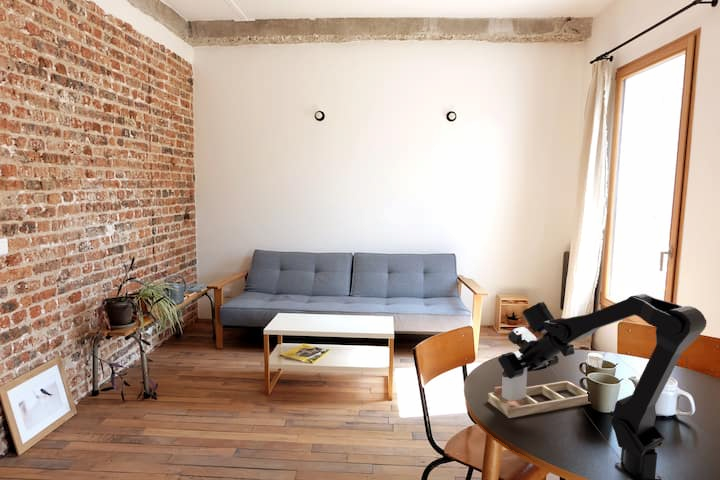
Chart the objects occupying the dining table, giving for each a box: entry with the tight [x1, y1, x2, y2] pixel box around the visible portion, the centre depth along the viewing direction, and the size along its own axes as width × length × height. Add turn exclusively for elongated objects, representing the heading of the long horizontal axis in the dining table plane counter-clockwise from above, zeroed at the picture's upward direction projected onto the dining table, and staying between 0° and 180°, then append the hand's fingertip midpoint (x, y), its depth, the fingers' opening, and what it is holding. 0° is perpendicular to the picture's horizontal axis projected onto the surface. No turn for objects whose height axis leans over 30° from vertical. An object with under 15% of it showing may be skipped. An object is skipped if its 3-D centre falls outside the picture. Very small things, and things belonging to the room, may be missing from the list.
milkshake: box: [587, 351, 607, 369], centre depth 146 cm, size 5×5×10 cm
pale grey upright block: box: [501, 350, 528, 402], centre depth 127 cm, size 4×6×12 cm, turn 120°
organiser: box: [487, 380, 592, 419], centre depth 131 cm, size 10×29×4 cm, turn 108°
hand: (511, 373), depth 129 cm, fingers closed on pale grey upright block, 6 cm apart
